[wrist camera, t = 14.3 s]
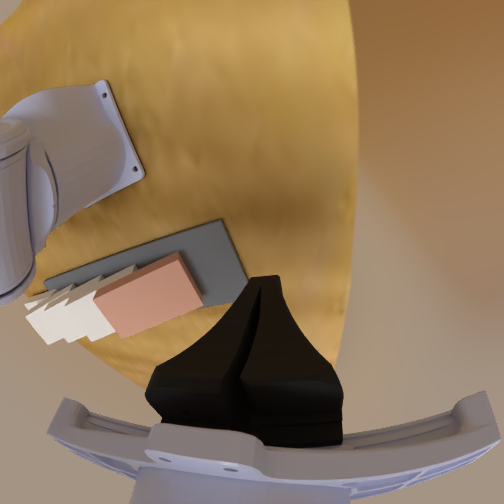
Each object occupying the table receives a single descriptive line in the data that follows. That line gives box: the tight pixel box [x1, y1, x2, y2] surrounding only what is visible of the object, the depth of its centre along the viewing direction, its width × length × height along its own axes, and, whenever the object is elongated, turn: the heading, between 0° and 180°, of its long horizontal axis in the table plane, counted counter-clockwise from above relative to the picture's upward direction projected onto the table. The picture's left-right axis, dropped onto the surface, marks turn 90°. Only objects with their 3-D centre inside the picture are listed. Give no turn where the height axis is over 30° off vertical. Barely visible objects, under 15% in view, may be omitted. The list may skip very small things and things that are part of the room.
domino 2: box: [25, 283, 77, 345], centre depth 28 cm, size 5×2×9 cm
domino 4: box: [64, 264, 138, 341], centre depth 25 cm, size 5×2×9 cm
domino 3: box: [43, 275, 105, 343], centre depth 26 cm, size 5×2×9 cm
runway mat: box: [43, 219, 249, 309], centre depth 27 cm, size 8×27×1 cm, turn 110°
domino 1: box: [24, 289, 59, 311], centre depth 31 cm, size 5×2×9 cm
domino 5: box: [93, 251, 204, 339], centre depth 24 cm, size 5×2×9 cm
